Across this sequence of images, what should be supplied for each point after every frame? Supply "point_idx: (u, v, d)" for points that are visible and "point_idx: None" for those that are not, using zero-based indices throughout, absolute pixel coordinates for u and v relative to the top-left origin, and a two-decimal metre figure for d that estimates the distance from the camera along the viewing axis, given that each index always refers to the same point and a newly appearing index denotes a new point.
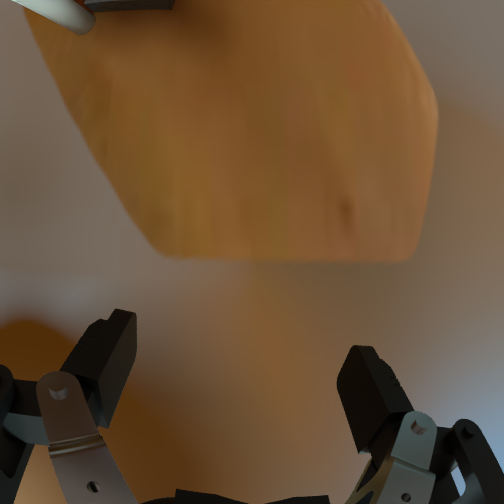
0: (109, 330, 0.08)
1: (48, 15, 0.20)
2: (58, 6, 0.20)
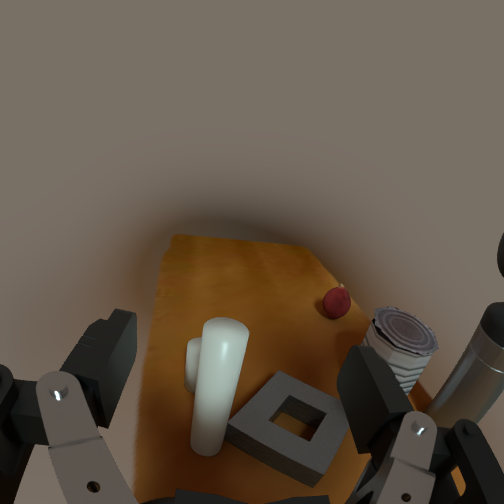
0: (109, 330, 0.08)
1: (204, 406, 0.25)
2: (223, 406, 0.25)
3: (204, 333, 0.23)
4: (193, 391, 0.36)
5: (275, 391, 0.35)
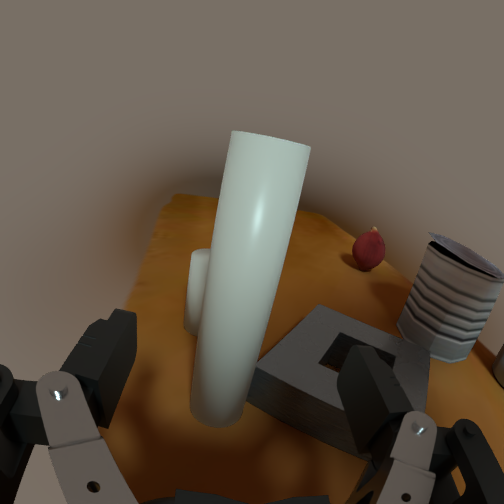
0: (109, 330, 0.08)
1: (222, 306, 0.14)
2: (258, 305, 0.14)
3: (234, 133, 0.12)
4: (196, 332, 0.26)
5: (320, 327, 0.25)
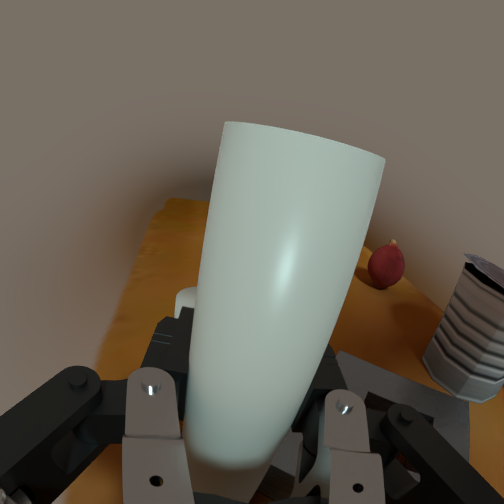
0: (183, 326, 0.09)
1: (213, 434, 0.07)
2: (274, 433, 0.07)
3: (229, 128, 0.06)
4: None
5: None
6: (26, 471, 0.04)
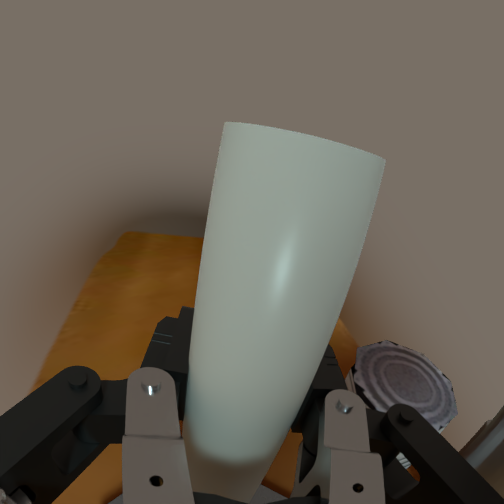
0: (183, 326, 0.09)
1: (213, 435, 0.07)
2: (274, 434, 0.07)
3: (229, 129, 0.06)
4: None
5: None
6: (26, 471, 0.04)
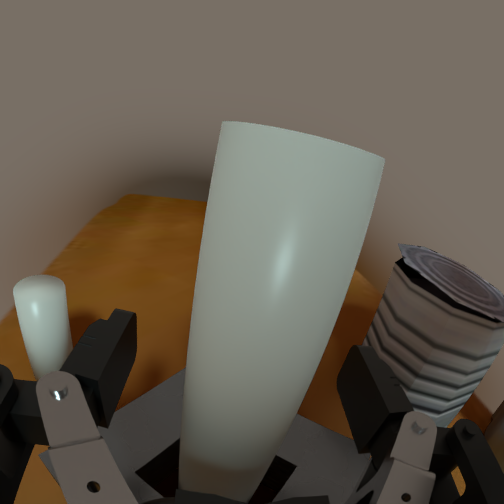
0: (109, 330, 0.08)
1: (211, 436, 0.07)
2: (272, 435, 0.07)
3: (226, 128, 0.06)
4: None
5: (176, 403, 0.15)
6: None
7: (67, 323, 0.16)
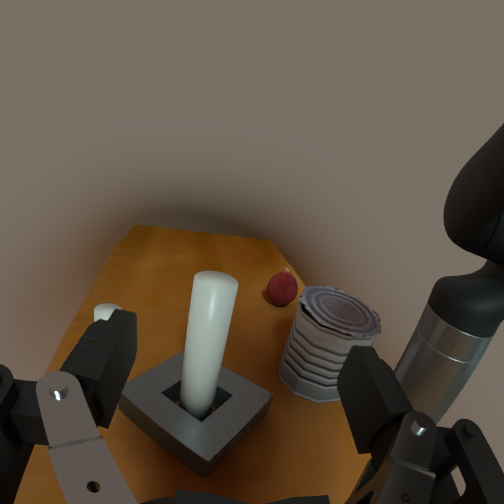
0: (109, 330, 0.08)
1: (192, 363, 0.26)
2: (212, 364, 0.26)
3: (195, 281, 0.24)
4: None
5: (179, 365, 0.33)
6: None
7: None
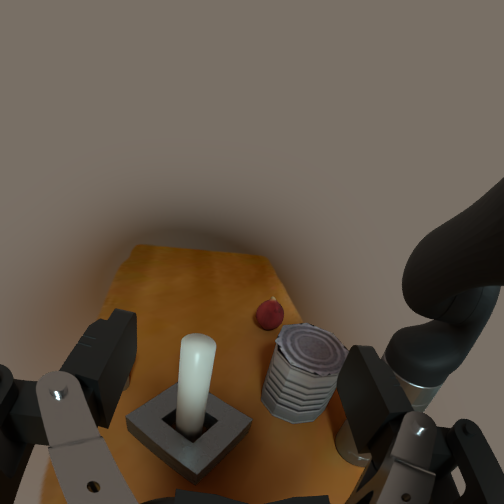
0: (109, 330, 0.08)
1: (184, 401, 0.31)
2: (198, 402, 0.31)
3: (181, 346, 0.29)
4: None
5: (176, 395, 0.38)
6: None
7: None
